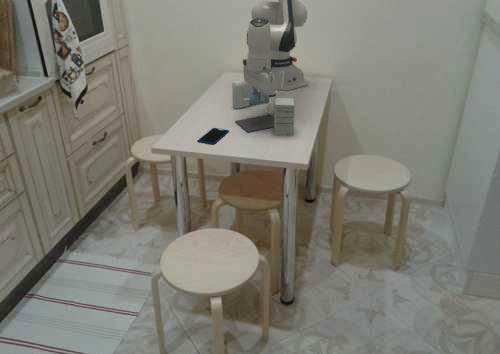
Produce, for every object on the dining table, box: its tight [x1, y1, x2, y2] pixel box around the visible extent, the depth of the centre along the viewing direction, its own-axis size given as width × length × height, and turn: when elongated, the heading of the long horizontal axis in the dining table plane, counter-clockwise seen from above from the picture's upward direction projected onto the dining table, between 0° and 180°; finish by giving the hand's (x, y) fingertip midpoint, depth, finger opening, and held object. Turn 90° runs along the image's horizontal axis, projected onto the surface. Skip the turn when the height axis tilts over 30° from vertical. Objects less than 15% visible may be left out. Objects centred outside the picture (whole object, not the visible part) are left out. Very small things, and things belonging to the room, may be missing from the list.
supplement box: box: [273, 97, 295, 136], centre depth 182 cm, size 7×7×13 cm
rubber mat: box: [234, 114, 274, 134], centre depth 192 cm, size 16×12×1 cm
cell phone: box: [197, 127, 230, 146], centre depth 182 cm, size 7×14×1 cm, turn 156°
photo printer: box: [231, 77, 253, 110], centre depth 207 cm, size 10×4×12 cm, turn 123°
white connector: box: [266, 101, 275, 116], centre depth 202 cm, size 10×3×3 cm, turn 177°
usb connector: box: [243, 90, 277, 106], centre depth 187 cm, size 14×4×4 cm, turn 116°
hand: (259, 98), depth 187 cm, fingers closed on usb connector, 4 cm apart
